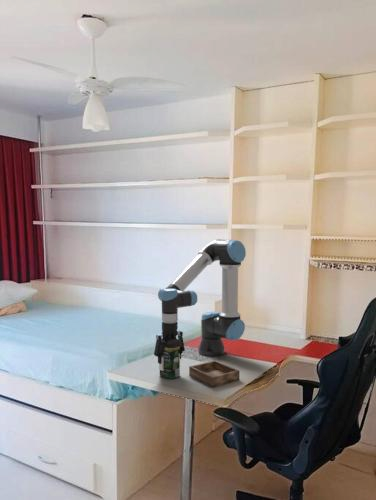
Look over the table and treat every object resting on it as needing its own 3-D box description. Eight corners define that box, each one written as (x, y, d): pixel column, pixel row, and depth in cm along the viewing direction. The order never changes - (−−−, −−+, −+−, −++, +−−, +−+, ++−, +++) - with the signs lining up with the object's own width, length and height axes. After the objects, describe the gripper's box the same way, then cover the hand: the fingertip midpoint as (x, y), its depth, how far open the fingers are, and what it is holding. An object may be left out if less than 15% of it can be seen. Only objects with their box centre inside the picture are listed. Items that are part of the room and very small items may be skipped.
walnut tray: (215, 369, 204) (215, 360, 204) (239, 380, 190) (239, 370, 189) (189, 375, 195) (189, 366, 195) (212, 387, 180) (212, 377, 180)
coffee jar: (156, 376, 195) (156, 337, 194) (167, 371, 201) (167, 334, 200) (171, 380, 188) (171, 341, 187) (182, 376, 194) (182, 338, 193)
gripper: (183, 317, 202) (183, 361, 203) (146, 322, 190) (146, 370, 191) (192, 320, 196) (192, 365, 197) (154, 326, 184) (154, 375, 185)
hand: (169, 368), depth 194 cm, fingers open, 9 cm apart
